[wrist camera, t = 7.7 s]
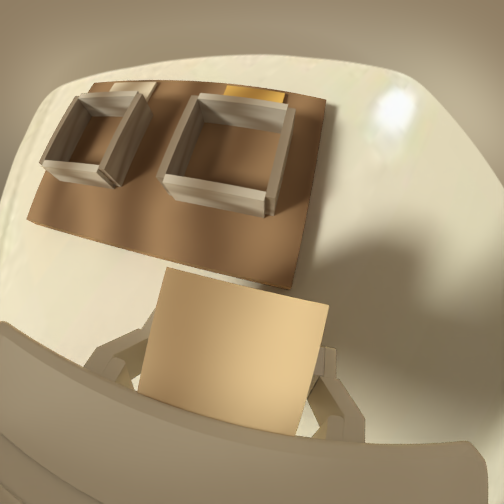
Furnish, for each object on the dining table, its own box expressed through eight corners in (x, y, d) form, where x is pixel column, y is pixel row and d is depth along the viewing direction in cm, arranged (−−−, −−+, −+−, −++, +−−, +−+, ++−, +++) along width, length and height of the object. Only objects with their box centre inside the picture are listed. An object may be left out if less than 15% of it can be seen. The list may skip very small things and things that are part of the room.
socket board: (323, 110, 24) (331, 75, 19) (289, 289, 20) (296, 281, 16) (99, 91, 26) (82, 65, 22) (35, 224, 23) (6, 208, 18)
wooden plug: (295, 313, 18) (329, 305, 8) (277, 388, 17) (287, 459, 7) (219, 295, 18) (166, 266, 9) (201, 369, 17) (133, 415, 8)
